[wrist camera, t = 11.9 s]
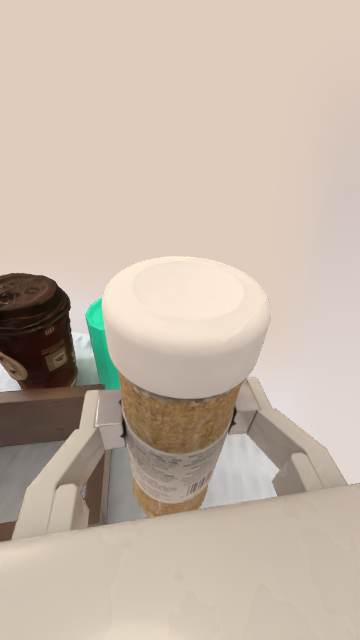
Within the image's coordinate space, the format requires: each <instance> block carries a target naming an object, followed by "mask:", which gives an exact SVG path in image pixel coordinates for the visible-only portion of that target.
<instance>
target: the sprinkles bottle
mask: <svg viewBox="0 0 360 640" xmlns="http://www.w3.org/2000/svg"><path fill="white" fill-rule="evenodd" d="M102 313H103V320H104V327H105V334H106V340H107V346H108V351H109V355H110V358H111V360H112V362H113V364H114V365H115V367H116V369H117V370H118V374H119V382H120V389H121V397H122V402H121V403H122V412H123V418H124V425H125V432H126V439H127V446H128V452H129V459H130V464H131V470H132V473H133V490H134V495H135V497H136V499H137V501H138V504H139V506H140V507H141V508H142V510H143V511H144V512H145V513H146V514H147V515H148V516H150V517H156V516H162V515H168V514H174V513H180V512H186V511H192V510H197V509H198V508H199V507H200V506H201V504H202V502H203V500H204V497H205V495H206V492H207V487H208V482H209V481H210V478H211V476H212V474H213V471H214V468H215V465H216V462H217V460H218V457H219V455H220V452H221V449H222V447H223V444H224V441H225V438H226V435H227V432H228V429H229V426H230V424H231V421H232V417H233V410H234V407H235V404H236V401H237V397H238V393H239V390H240V388H241V385H242V383H243V382H244V381H245V379H246V378H247V376H248V375H249V374H250V373H251V371H252V370H253V368H254V366H255V364H256V362H257V359H258V356H259V353H260V351H261V348H262V345H263V342H264V339H265V336H266V333H267V330H268V326H269V323H270V319H271V306H270V302H269V299H268V296H267V294H266V293H265V291H264V290H263V288H262V287H261V286H260V285H259V284H258V283H257V282H256V281H255V280H254V279H252V278H251V277H250V276H248V275H247V274H245V273H244V272H242V271H240V270H238V269H236V268H234V267H232V266H229V265H227V264H223V263H220V262H217V261H213V260H209V259H203V258H197V257H185V256H170V257H161V258H154V259H150V260H145V261H141V262H139V263H136V264H133V265H131V266H129V267H127V268H126V269H124V270H122V271H120V272H119V273H118V274H116V275H115V276H114V277H113V278H112V280H111V281H110V282H109V283H108V285H107V287H106V288H105V290H104V293H103V298H102Z"/></svg>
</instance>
